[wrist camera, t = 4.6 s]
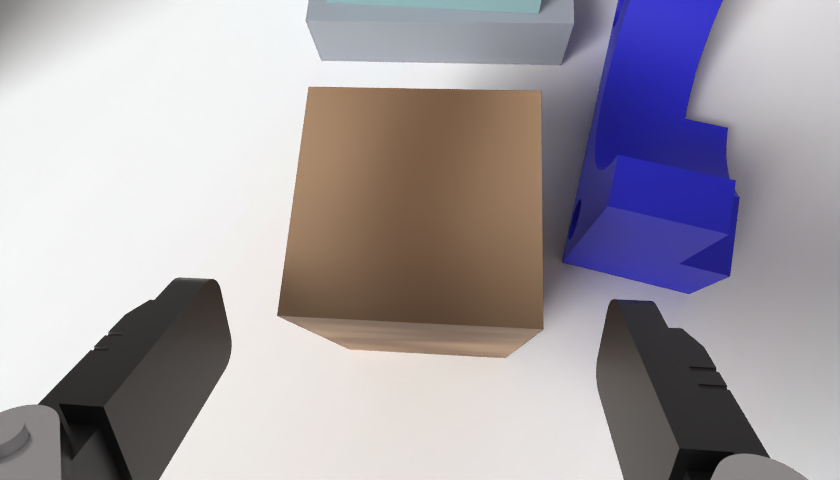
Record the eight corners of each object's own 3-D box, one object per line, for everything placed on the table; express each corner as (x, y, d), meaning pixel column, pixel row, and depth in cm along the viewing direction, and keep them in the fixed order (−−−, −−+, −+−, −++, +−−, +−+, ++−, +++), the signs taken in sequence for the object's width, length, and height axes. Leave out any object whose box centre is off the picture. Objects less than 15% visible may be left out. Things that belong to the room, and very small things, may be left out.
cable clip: (686, 295, 19) (792, 249, 13) (561, 263, 19) (608, 205, 13) (726, 20, 22) (824, -115, 16) (617, 0, 22) (674, -137, 17)
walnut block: (349, 349, 19) (277, 315, 11) (363, 204, 20) (308, 86, 12) (505, 357, 18) (543, 329, 11) (506, 209, 20) (541, 90, 12)
